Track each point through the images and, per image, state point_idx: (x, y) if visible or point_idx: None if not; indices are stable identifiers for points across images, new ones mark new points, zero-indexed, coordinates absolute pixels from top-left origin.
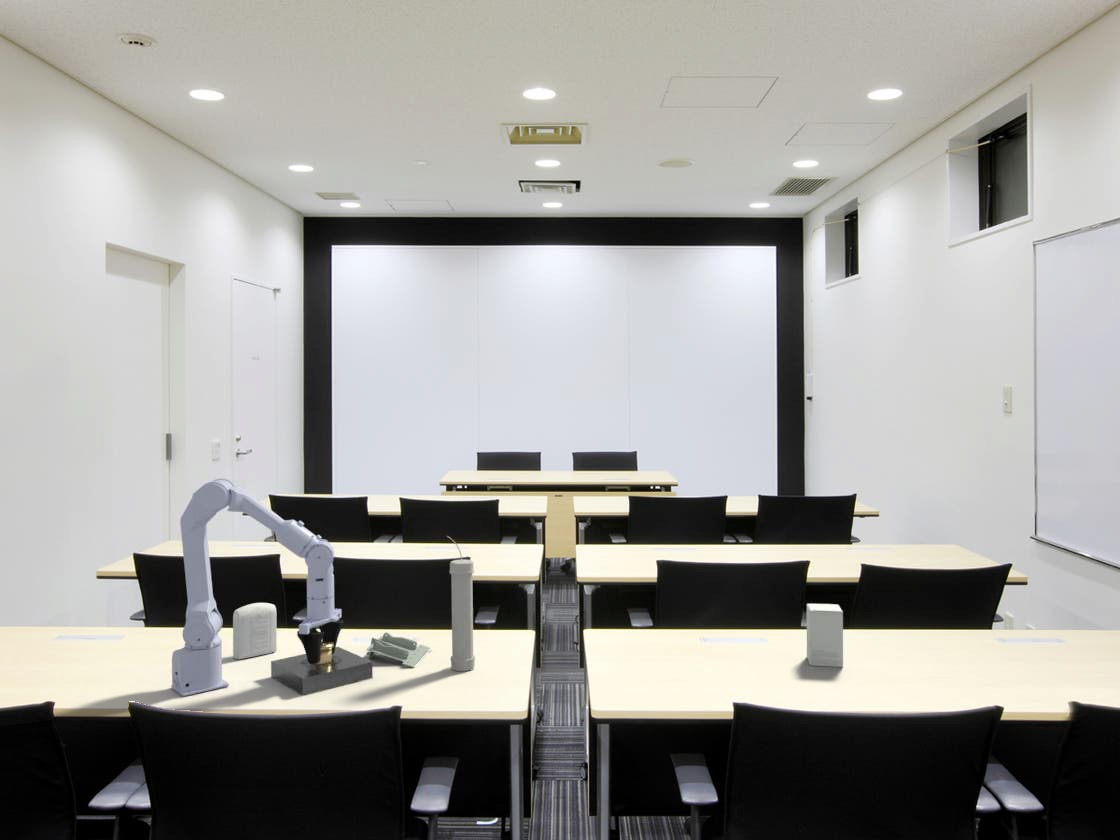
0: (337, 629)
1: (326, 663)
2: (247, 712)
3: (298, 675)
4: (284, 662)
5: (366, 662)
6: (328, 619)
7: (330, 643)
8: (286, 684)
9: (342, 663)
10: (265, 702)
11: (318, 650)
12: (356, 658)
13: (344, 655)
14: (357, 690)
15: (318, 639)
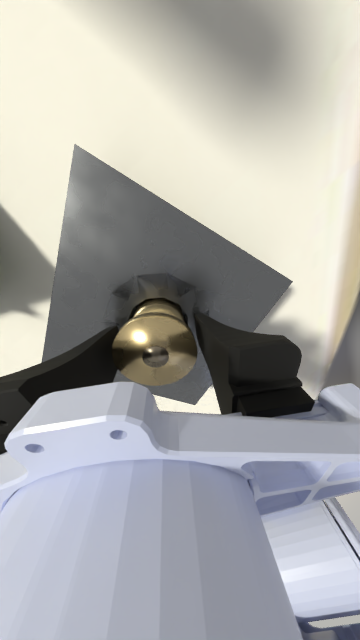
0: (60, 368)
1: (168, 303)
2: (350, 307)
3: (270, 306)
4: (193, 384)
5: (95, 169)
6: (184, 447)
7: (132, 335)
8: None
9: (147, 260)
10: (303, 313)
11: (216, 323)
12: (82, 248)
13: (84, 305)
14: (210, 147)
15: (264, 334)
